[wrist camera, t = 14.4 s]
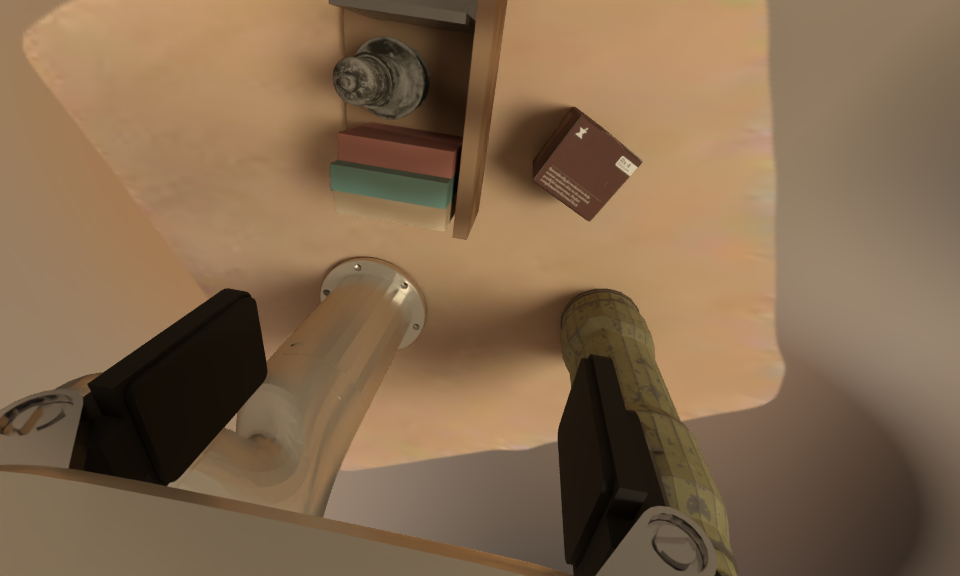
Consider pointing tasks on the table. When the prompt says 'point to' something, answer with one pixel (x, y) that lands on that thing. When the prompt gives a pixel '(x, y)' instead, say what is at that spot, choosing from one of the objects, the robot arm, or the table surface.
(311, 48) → the table surface
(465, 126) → the shelf
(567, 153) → the box
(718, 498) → the robed figure statue
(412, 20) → the bookend
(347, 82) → the dark grey chess piece
